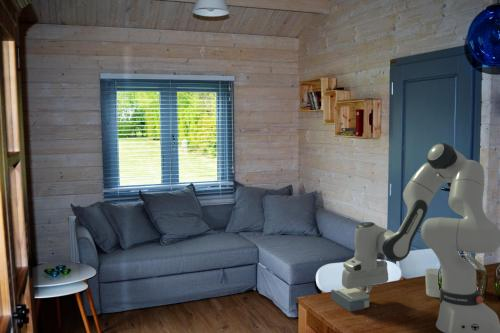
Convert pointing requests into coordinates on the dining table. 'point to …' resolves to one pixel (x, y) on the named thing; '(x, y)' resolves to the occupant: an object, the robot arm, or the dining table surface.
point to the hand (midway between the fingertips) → (365, 295)
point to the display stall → (346, 302)
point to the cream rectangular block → (355, 295)
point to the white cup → (432, 283)
